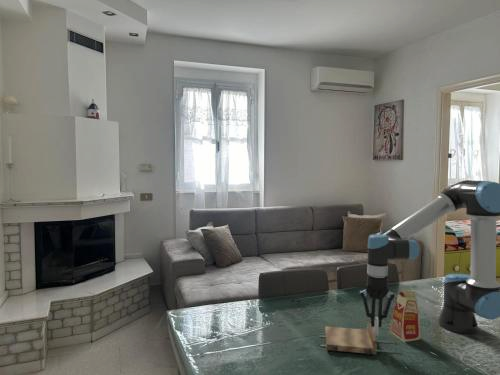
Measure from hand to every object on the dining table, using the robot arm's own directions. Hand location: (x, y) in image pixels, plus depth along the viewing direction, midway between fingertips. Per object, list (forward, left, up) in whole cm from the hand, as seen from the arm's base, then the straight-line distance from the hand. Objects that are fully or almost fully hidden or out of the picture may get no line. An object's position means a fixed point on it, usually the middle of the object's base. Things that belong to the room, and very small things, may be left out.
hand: (375, 334), depth 143 cm
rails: (+6, 0, -5) cm, 8 cm away
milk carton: (-14, -12, -5) cm, 19 cm away
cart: (+10, 0, -5) cm, 11 cm away
